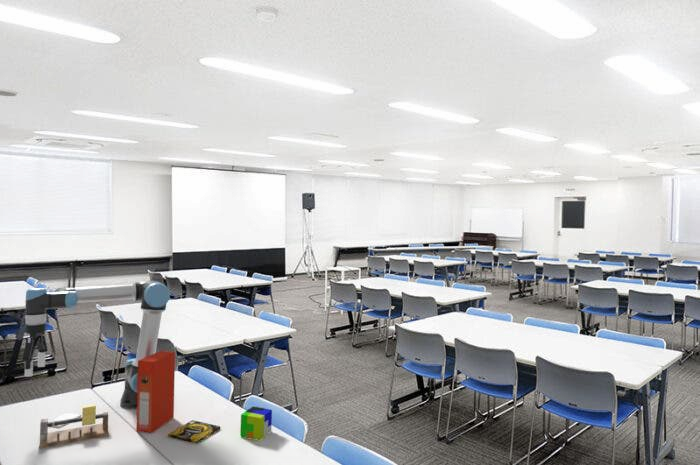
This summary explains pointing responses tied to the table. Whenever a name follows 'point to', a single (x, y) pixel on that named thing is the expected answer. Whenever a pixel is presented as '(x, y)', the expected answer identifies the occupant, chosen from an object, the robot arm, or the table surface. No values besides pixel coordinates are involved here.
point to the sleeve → (88, 415)
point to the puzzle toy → (256, 423)
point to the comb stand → (71, 431)
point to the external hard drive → (64, 417)
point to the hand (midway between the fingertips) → (35, 371)
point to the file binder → (155, 391)
